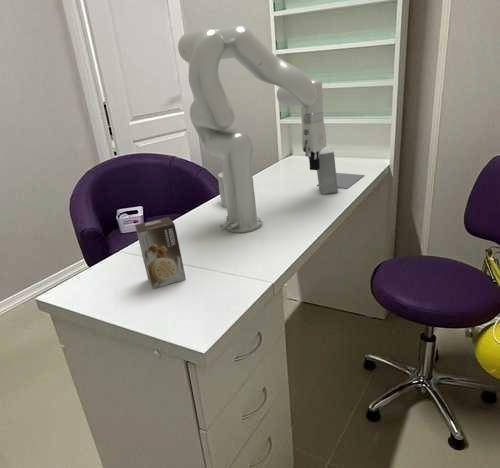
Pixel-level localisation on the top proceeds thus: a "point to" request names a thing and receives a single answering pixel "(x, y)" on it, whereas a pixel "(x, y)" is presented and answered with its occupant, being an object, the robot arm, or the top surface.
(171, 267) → the coffee box
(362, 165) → the top surface
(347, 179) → the mat
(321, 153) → the skincare box
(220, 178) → the toilet paper roll
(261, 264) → the top surface
